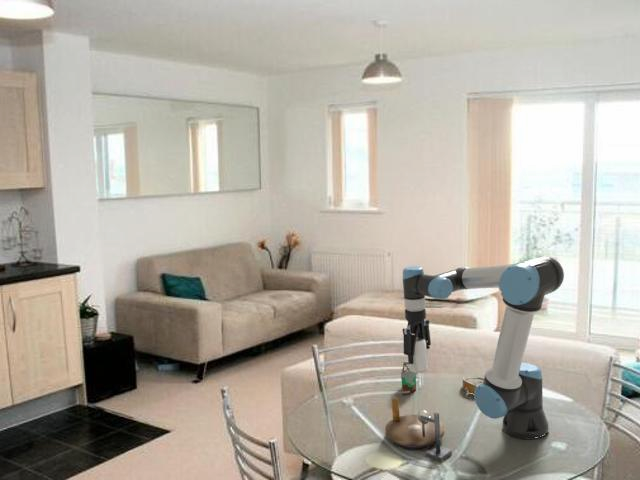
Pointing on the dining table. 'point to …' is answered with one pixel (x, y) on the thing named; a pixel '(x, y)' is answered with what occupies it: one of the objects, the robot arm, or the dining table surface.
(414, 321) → the robot arm
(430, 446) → the turntable base
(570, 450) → the dining table surface
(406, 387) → the food container
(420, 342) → the can
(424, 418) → the dial indicator stand
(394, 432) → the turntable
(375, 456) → the dining table surface
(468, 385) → the sunglasses
